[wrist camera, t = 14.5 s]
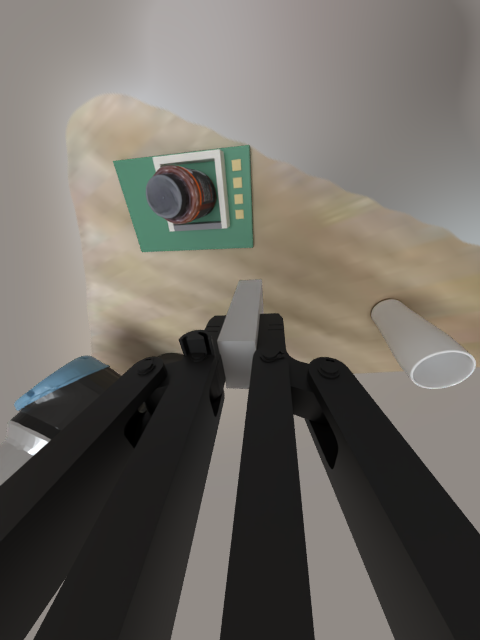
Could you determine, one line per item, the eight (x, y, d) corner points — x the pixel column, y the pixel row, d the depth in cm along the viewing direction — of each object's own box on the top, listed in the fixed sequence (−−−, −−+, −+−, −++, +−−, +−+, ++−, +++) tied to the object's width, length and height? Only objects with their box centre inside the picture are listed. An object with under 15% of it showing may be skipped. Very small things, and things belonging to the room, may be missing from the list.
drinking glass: (357, 314, 39) (397, 374, 26) (389, 286, 35) (452, 340, 23) (383, 331, 40) (433, 396, 27) (416, 306, 36) (491, 368, 24)
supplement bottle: (196, 159, 28) (158, 144, 19) (225, 197, 30) (203, 200, 21) (170, 192, 31) (125, 193, 22) (198, 225, 33) (168, 239, 24)
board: (145, 250, 38) (133, 255, 35) (118, 162, 31) (100, 158, 28) (253, 245, 35) (251, 251, 32) (249, 146, 28) (246, 141, 25)
